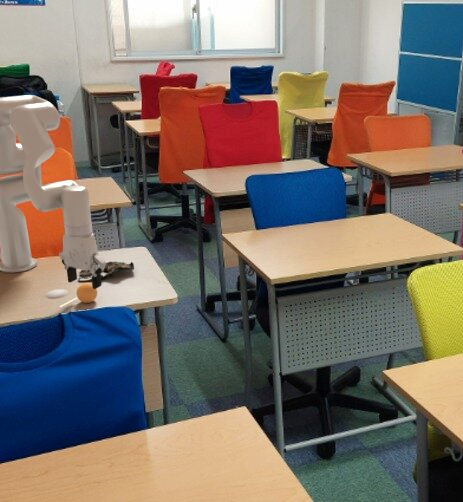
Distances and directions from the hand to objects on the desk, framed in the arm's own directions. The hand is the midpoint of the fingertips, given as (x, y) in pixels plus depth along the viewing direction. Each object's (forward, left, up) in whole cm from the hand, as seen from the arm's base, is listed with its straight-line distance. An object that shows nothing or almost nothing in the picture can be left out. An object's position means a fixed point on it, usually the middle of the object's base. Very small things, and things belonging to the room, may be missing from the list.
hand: (84, 284), depth 182 cm
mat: (-6, +1, -6) cm, 9 cm away
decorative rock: (-10, +20, -7) cm, 23 cm away
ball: (+1, 0, -6) cm, 6 cm away
